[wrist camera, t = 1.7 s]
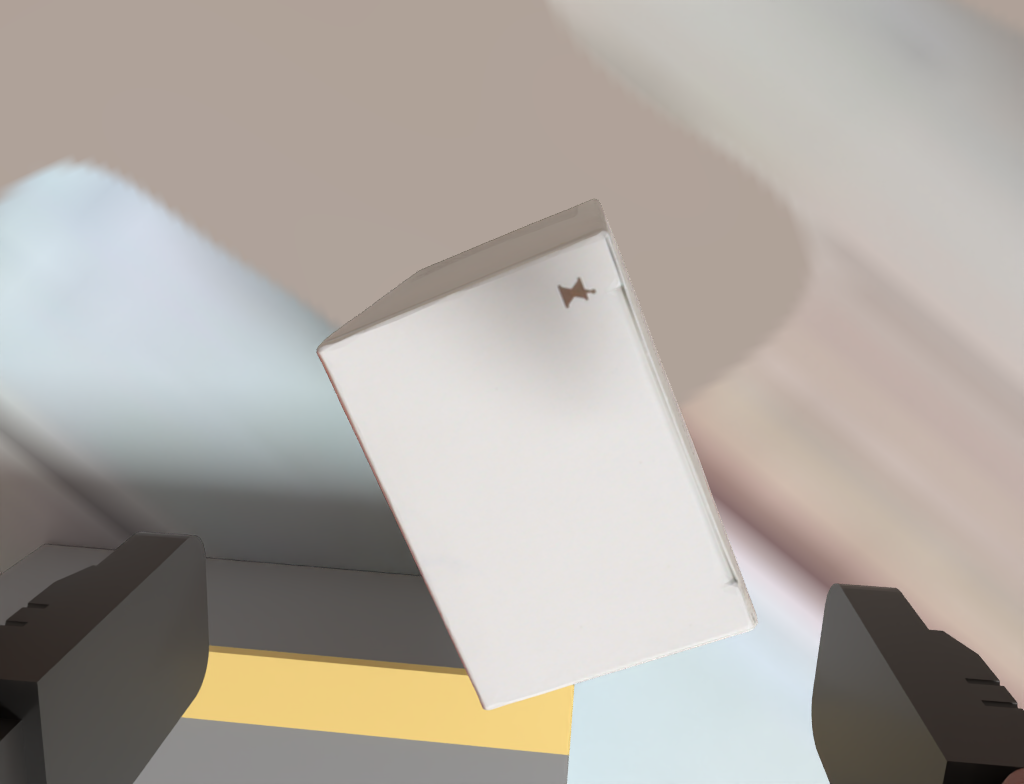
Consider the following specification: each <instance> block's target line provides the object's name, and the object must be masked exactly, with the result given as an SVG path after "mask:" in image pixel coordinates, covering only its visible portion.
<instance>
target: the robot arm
mask: <svg viewBox="0 0 1024 784" xmlns="http://www.w3.org/2000/svg"><path fill="white" fill-rule="evenodd" d="M208 657H209V630H208V605H207V581H206V558H205V550H204V546H203V543H202V541H201V539H200V538H199V537H198V536H194V535H180V534H166V533H152V532H138V533H136V534H134V535H133V536H132V537H131V538H129V539H128V540H127V541H126V542H125V543H123V544H122V545H121V546H120V547H119V548H117V549H116V550H115V551H114V552H113V553H111V554H110V555H109V556H108V557H106V558H105V559H104V560H103V561H102V562H100V563H99V564H98V565H97V566H96V565H92V566H90V567H87V568H85V569H83V570H81V571H78V572H76V573H74V574H71V575H69V576H67V577H65V578H62V579H60V580H58V581H55V582H54V583H52V584H51V585H50V586H49V587H47V588H46V589H45V590H44V591H42V592H41V593H40V594H38V595H37V596H36V597H35V598H33V599H32V600H31V601H30V602H28V606H27V607H22V608H21V609H20V610H18V611H17V612H16V613H15V614H13V615H12V616H11V617H9V618H8V619H7V620H6V623H5V625H0V784H133V783H134V782H135V780H136V779H137V778H138V776H139V775H140V773H141V772H142V771H143V769H144V768H145V766H146V765H147V764H148V762H149V761H150V760H151V758H152V757H153V755H154V754H155V753H156V751H157V750H158V749H159V747H160V746H161V744H162V743H163V742H164V740H165V739H166V737H167V736H168V735H169V733H170V732H171V731H172V729H173V728H174V726H175V725H176V724H177V722H178V721H179V720H180V718H181V717H182V715H183V714H184V713H185V711H186V710H187V708H188V707H189V706H190V704H191V703H192V702H193V700H194V699H195V697H196V696H197V694H198V692H199V690H200V688H201V686H202V683H203V680H204V677H205V673H206V669H207V664H208ZM812 729H813V736H814V741H815V745H816V749H817V752H818V754H819V757H820V759H821V762H822V764H823V767H824V769H825V772H826V774H827V777H828V779H829V782H830V784H1024V710H1023V709H1019V708H1018V707H1017V702H1016V701H1015V699H1014V698H1013V697H1012V696H1011V694H1010V693H1009V692H1008V691H1007V689H1006V688H1005V687H1004V686H1000V681H999V679H998V678H997V677H996V676H995V674H994V673H993V672H992V671H991V670H990V668H989V667H988V666H987V665H986V663H985V662H984V661H983V660H982V658H981V657H980V656H979V655H978V654H977V653H975V652H974V651H972V650H971V649H969V648H968V647H966V646H965V645H963V644H962V643H960V642H959V641H957V640H956V639H954V638H953V637H951V636H950V635H948V634H947V633H945V632H944V631H938V630H929V629H928V628H927V627H926V625H925V624H924V623H923V621H922V620H921V619H920V617H919V616H918V615H917V613H916V612H915V610H914V609H913V608H912V606H911V605H910V604H909V602H908V601H907V600H906V598H905V597H904V596H903V594H902V593H901V592H900V591H899V590H898V589H897V588H889V587H875V586H862V585H848V584H833V585H832V586H831V588H830V590H829V592H828V595H827V599H826V604H825V610H824V617H823V624H822V631H821V638H820V645H819V653H818V660H817V667H816V674H815V681H814V688H813V696H812Z"/></svg>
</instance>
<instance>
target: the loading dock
mask: <svg viewBox="0 0 1024 784" xmlns="http://www.w3.org/2000/svg"><path fill="white" fill-rule="evenodd" d="M114 551H115V550H107V549H95V548H83V547H71V546H60V545H48V544H44V545H43V546H41V547H40V548H38V549H37V550H35V551H34V552H32V553H31V554H30V555H28V556H27V557H25V558H24V559H22V560H21V561H20V562H18V563H17V564H15V565H14V566H12V567H11V568H9V569H8V570H7V571H5V572H4V573H2V574H1V575H0V625H5V623H6V620H7V619H8V618H9V617H11V616H12V615H13V614H15V613H16V612H17V611H18V610H20V609H21V608H22V607H27V606H28V602H30V601H31V600H32V599H33V598H35V597H36V596H37V595H38V594H40V593H41V592H42V591H44V590H45V589H46V588H47V587H49V586H50V585H51V584H52V583H54V582H55V581H58V580H60V579H62V578H65V577H67V576H69V575H71V574H74V573H76V572H78V571H81V570H83V569H85V568H87V567H90V566H92V565H96V566H97V565H98V564H99V563H100V562H102V561H103V560H104V559H105V558H106V557H108V556H109V555H110V554H111V553H113V552H114ZM206 581H207V605H208V630H209V657H208V664H207V669H206V673H205V677H204V680H203V683H202V686H201V688H200V690H199V692H198V694H197V696H196V697H195V699H194V700H193V702H192V703H191V704H190V706H189V707H188V708H187V710H186V711H185V713H184V714H183V715H182V717H181V718H180V720H179V721H178V722H177V724H176V725H175V726H174V728H173V729H172V731H171V732H170V733H169V735H168V736H167V737H166V739H165V740H164V742H163V743H162V744H161V746H160V747H159V749H158V750H157V751H156V753H155V754H154V755H153V757H152V758H151V760H150V761H149V762H148V764H147V765H146V766H145V768H144V769H143V771H142V772H141V773H140V775H139V776H138V778H137V779H136V780H135V782H134V783H133V784H567V774H568V760H569V750H570V736H571V723H572V709H573V696H574V684H573V685H570V686H567V687H563V688H560V689H557V690H554V691H551V692H548V693H544V694H541V695H538V696H534V697H531V698H528V699H524V700H521V701H518V702H514V703H511V704H508V705H504V706H501V707H498V708H495V709H492V710H484V709H483V708H482V706H481V703H480V700H479V698H478V695H477V693H476V691H475V689H474V687H473V685H472V683H471V681H470V678H469V676H468V674H467V672H466V670H465V668H464V666H463V663H462V661H461V659H460V657H459V655H458V653H457V651H456V648H455V646H454V644H453V642H452V640H451V638H450V636H449V633H448V631H447V629H446V627H445V625H444V622H443V620H442V618H441V616H440V614H439V611H438V609H437V607H436V605H435V603H434V601H433V599H432V597H431V595H430V592H429V590H428V588H427V586H426V584H425V582H424V580H423V577H422V576H414V575H403V574H391V573H379V572H367V571H355V570H343V569H332V568H320V567H308V566H296V565H284V564H272V563H261V562H249V561H237V560H225V559H213V558H206Z"/></svg>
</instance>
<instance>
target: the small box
mask: <svg viewBox="0 0 1024 784" xmlns="http://www.w3.org/2000/svg"><path fill="white" fill-rule="evenodd" d="M317 354H318V356H319V358H320V360H321V362H322V364H323V366H324V368H325V370H326V373H327V375H328V377H329V379H330V381H331V383H332V385H333V388H334V390H335V392H336V394H337V396H338V399H339V401H340V403H341V405H342V407H343V410H344V412H345V414H346V416H347V418H348V420H349V422H350V424H351V426H352V428H353V430H354V432H355V435H356V437H357V439H358V441H359V443H360V445H361V447H362V449H363V452H364V454H365V456H366V458H367V460H368V462H369V465H370V467H371V469H372V471H373V473H374V475H375V477H376V480H377V482H378V484H379V486H380V488H381V490H382V492H383V495H384V497H385V499H386V501H387V503H388V505H389V507H390V509H391V511H392V513H393V515H394V518H395V520H396V522H397V524H398V526H399V528H400V531H401V533H402V535H403V537H404V539H405V541H406V543H407V545H408V547H409V549H410V552H411V554H412V556H413V559H414V561H415V563H416V565H417V567H418V569H419V571H420V573H421V575H422V577H423V580H424V582H425V584H426V586H427V588H428V590H429V592H430V595H431V597H432V599H433V601H434V603H435V605H436V607H437V609H438V611H439V614H440V616H441V618H442V620H443V622H444V625H445V627H446V629H447V631H448V633H449V636H450V638H451V640H452V642H453V644H454V646H455V648H456V651H457V653H458V655H459V657H460V659H461V661H462V663H463V666H464V668H465V670H466V672H467V674H468V676H469V678H470V681H471V683H472V685H473V687H474V689H475V691H476V693H477V695H478V698H479V700H480V703H481V706H482V708H483V709H484V710H492V709H495V708H498V707H501V706H504V705H508V704H511V703H514V702H518V701H521V700H524V699H528V698H531V697H534V696H538V695H541V694H544V693H548V692H551V691H554V690H557V689H560V688H563V687H567V686H570V685H573V684H576V683H580V682H583V681H586V680H589V679H593V678H596V677H599V676H603V675H606V674H609V673H613V672H616V671H619V670H622V669H626V668H629V667H632V666H636V665H639V664H642V663H645V662H649V661H652V660H655V659H659V658H662V657H665V656H668V655H672V654H675V653H678V652H682V651H685V650H688V649H692V648H695V647H698V646H701V645H705V644H708V643H711V642H715V641H718V640H721V639H725V638H728V637H731V636H735V635H738V634H742V633H745V632H749V631H751V630H753V629H754V628H755V627H756V625H757V623H758V620H757V615H756V612H755V610H754V607H753V604H752V602H751V599H750V596H749V594H748V591H747V588H746V585H745V583H744V580H743V577H742V575H741V572H740V569H739V566H738V564H737V561H736V558H735V556H734V553H733V550H732V547H731V545H730V542H729V539H728V537H727V534H726V531H725V529H724V526H723V523H722V521H721V518H720V515H719V513H718V510H717V507H716V505H715V502H714V499H713V497H712V494H711V491H710V488H709V486H708V483H707V480H706V477H705V474H704V471H703V469H702V466H701V463H700V460H699V458H698V455H697V452H696V450H695V447H694V444H693V442H692V439H691V437H690V434H689V431H688V429H687V426H686V424H685V421H684V419H683V416H682V413H681V411H680V408H679V406H678V403H677V401H676V398H675V396H674V393H673V391H672V388H671V385H670V383H669V380H668V378H667V375H666V373H665V370H664V368H663V365H662V362H661V360H660V357H659V355H658V352H657V349H656V347H655V344H654V341H653V339H652V336H651V333H650V331H649V328H648V325H647V323H646V320H645V317H644V315H643V312H642V309H641V307H640V304H639V302H638V299H637V296H636V293H635V291H634V288H633V285H632V283H631V280H630V277H629V275H628V272H627V269H626V267H625V264H624V261H623V259H622V256H621V253H620V251H619V248H618V246H617V243H616V241H615V238H614V236H613V233H612V230H611V228H610V225H609V223H608V220H607V218H606V215H605V213H604V210H603V208H602V205H601V203H600V202H599V200H597V199H592V200H589V201H587V202H585V203H582V204H580V205H577V206H575V207H573V208H570V209H568V210H565V211H563V212H560V213H557V214H555V215H552V216H550V217H547V218H545V219H542V220H540V221H538V222H535V223H532V224H530V225H528V226H525V227H523V228H520V229H518V230H515V231H513V232H510V233H508V234H506V235H503V236H501V237H499V238H496V239H494V240H491V241H489V242H486V243H484V244H481V245H479V246H477V247H475V248H472V249H470V250H467V251H465V252H463V253H460V254H458V255H455V256H453V257H451V258H448V259H446V260H443V261H441V262H438V263H436V264H433V265H431V266H429V267H427V268H424V269H422V270H420V271H418V272H416V273H415V274H414V275H413V276H411V277H410V278H408V279H407V280H405V281H404V282H403V283H401V284H400V285H399V286H397V287H396V288H394V289H393V290H392V291H391V292H389V293H388V294H386V295H385V296H383V297H382V298H381V299H379V300H378V301H377V302H375V303H374V304H373V305H372V306H370V307H369V308H367V309H366V310H365V311H363V312H362V313H361V314H359V315H358V316H356V317H354V318H353V319H352V320H350V321H349V322H347V323H346V324H345V325H343V326H342V327H341V328H339V329H338V330H337V331H335V332H334V333H333V334H331V335H330V336H329V337H328V338H326V339H325V340H324V341H323V342H322V343H321V344H320V345H319V346H318V348H317Z"/></svg>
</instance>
